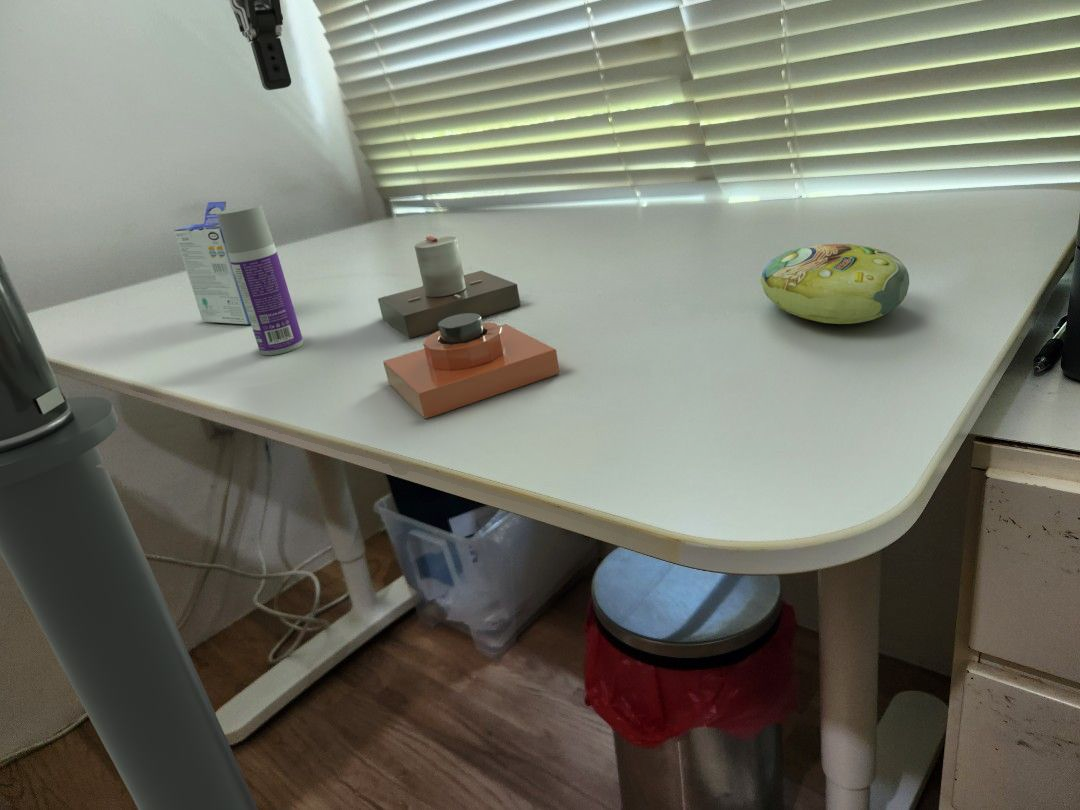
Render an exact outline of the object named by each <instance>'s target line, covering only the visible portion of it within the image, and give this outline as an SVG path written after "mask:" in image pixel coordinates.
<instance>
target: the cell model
mask: <svg viewBox="0 0 1080 810" xmlns="http://www.w3.org/2000/svg"><path fill="white" fill-rule="evenodd" d="M760 284H761V286H762V289H763V292H764V294H765V295H766V297H767V298H768V299H769V300H770V301H771V303H773V304H774V305H775V306H776V307H778V308H780V309H781V310H783V311H784V312H787V313H788V314H791V315H794V316H795V317H798V318H802V319H804V320H810V321H813V322H818V323H823V324H833V325H834V324H836V325H850V324H851V325H853V324H859V323H865V322H870V321H873V320H876V319H879V318H881V317H884V316H885V315H887V314H889V313H891V312H892V311H893V310H894V309H896V308H897V307H899V305H900V304H901V303H902V302H903V301H904V300H905V298H906V297H907V295H908V291H909V287H910V275H909V272H908V269H907V267H906V266H905V264H904V263H903V262H902V261H901V259H899V258H897V257H896V256H894V255H893V254H891V253H890V252H887V251H885V250H882V249H879V248H875V247H871V246H864V245H857V244H849V243H828V244H827V243H826V244H819V245H811V246H804V247H799V248H795V249H791V250H789V251H785V252H782V253H781V254H779V255H777V256H775V257H774V258H773V259H771V260H770V261H769V262H768V263H767V264H766V265H765V267H764V268H763V270H762V273H761V275H760Z"/></svg>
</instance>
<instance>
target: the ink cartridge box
mask: <svg viewBox="0 0 1080 810" xmlns="http://www.w3.org/2000/svg"><path fill="white" fill-rule="evenodd" d="M226 207H227V201H226V200H225V201H210V202H207V205H206V209H205V215H204V221H203V222H198V223H195V224H190V225H186V226H183V227H180V228H177V229H174V230H173V232H174V236H175V240H176V243H177V245H178V248H179V252H180V255H181V258H182V261H183V265H184V267H185V270H186V274H187V277H188V280H189V283H190V286H191V289H192V292H193V296H194V299H195V302H196V305H197V309H198V311H199V315H200V317H201V321H202V322H203V323H221V324H235V325H251V323H250V320H249V317H248V314H247V311H246V308H245V304H244V301H243V298H242V295H241V292H240V289H239V286H238V283H237V280H236V277H235V274H234V271H233V268H232V265H231V261H230V258H229V255H228V251H227V248H226V244H225V241H224V238H223V234H222V231H221V228H220V224H219V221H218V217H217V213H211V211H212V210H214V209H215V208H217V209H220V211H224V210H227V209H226Z"/></svg>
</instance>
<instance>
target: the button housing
mask: <svg viewBox="0 0 1080 810" xmlns="http://www.w3.org/2000/svg"><path fill="white" fill-rule="evenodd" d="M482 324H483V330H484V336H482V337H481V338H479V339H477V340H474V341H470V342H467V343H461V344H453V345H450V344H442V340H441V335H440V331H439V330H437V331H434V332H433V333H432V334H430V335H428V336H426V338H425V340H424V342H423V343H422V345H423V348H422V349H419V350H415V351H412V352H409V353H406V354H402V355H398V356H395V357H393V358H389V359H385V360H383V362H382V363H383V367H384V370H385V375H386V379H387V382H388V385H389V386H390V387H392V388H393V390H395V391H396V393H398V394H399V395H400V396H401V397H402V398H403V399H404V400H405V402H407V403H408V404H409V405H410V406H411V407H412V408H413V409H414V410H415V411H416V412H417V413H418V414H419V415H420V416H421V417H422V418H424V420H427V419H431V418H433V417H436V416H438V415H441V414H444V413H448V412H451V411H453V410H456V409H459V408H462V407H466V406H468V405H471V404H474V403H477V402H479V401H482V400H485V399H489V398H492V397H495V396H498V395H501V394H503V393H506V392H510V391H512V390H515V389H518V388H521V387H523V386H527V385H530V384H533V383H536V382H539V381H542V380H544V379H547V378H550V377H553V376H556V375H559V374H560V372H561V371H560V367H559V359H558V353H557V349H556V348H554V347H552V346H551V345H549V344H546V343H545V342H542V341H540V340H538V339H537V338H534V337H532V336H530V335H528V334H526V333H524V332H523V331H521V330H519V329H516V328H515V327H512V326H511V325H508V324H506V323H505V324H501V325H499V324H497V323H494V322H485V321H482Z"/></svg>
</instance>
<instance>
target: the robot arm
mask: <svg viewBox="0 0 1080 810" xmlns="http://www.w3.org/2000/svg"><path fill="white" fill-rule="evenodd" d="M228 2H229V5H230V8H231V10H232V11H233V14H234V17H235V19H236V22H237V24H238V29H239V32H240V33H241V35H242V36H243V37H244V38H245V39H246V40H247V43H250V46H251V50H252V54H253V58H254V61H255V64H256V68H257V71H258V74H259V79H260V82H261V85H262V88H263V89H264V90H266V91H274V90H280V89H286V88H289V87H290V86H291V85H292V78H291V74H290V71H289V67H288V64H287V59H286V56H285V51H284V47H283V44H282V40H281V37H282V32H283V28H282V26H283V25H284V22H283V20H284V16H283V13H282V7H281V0H228ZM66 399H67V398H66V396H65V394H64V393H63V391H62V389H61V386H60V385H59V382H58V380H57V378H56V374H55V372H54V371H53V368H52V366H51V364H50V362H49V360H48V357H47V355H46V353H45V351H44V349H43V346H42V344H41V342H40V340H39V338H38V335H37V333H36V332H35V329H34V327H33V324H32V322H31V320H30V318H29V316H28V313H27V312H26V309H25V307H24V305H23V302H22V300H21V297H20V295H19V293H18V291H17V289H16V286H15V284H14V282H13V280H12V278H11V275H10V274H9V271H8V269H7V267H6V265H5V263H4V261H3V258H2V255H0V453H2V452H6V451H10V450H13V449H16V448H19V447H22V446H25V445H28V444H31V443H33V442H35V441H38V440H40V439H42V438H45V437H47V436H49V435H51V434H53V433H54V432H56V431H58V430H60V429H61V428H63V427H64V426H65V425H67V424H68V423H69V422H70V421H71V420H72V419H73V416H74V415H73V412H72V410H71V408H70V406H69V404H68V403H67V402H66Z"/></svg>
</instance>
